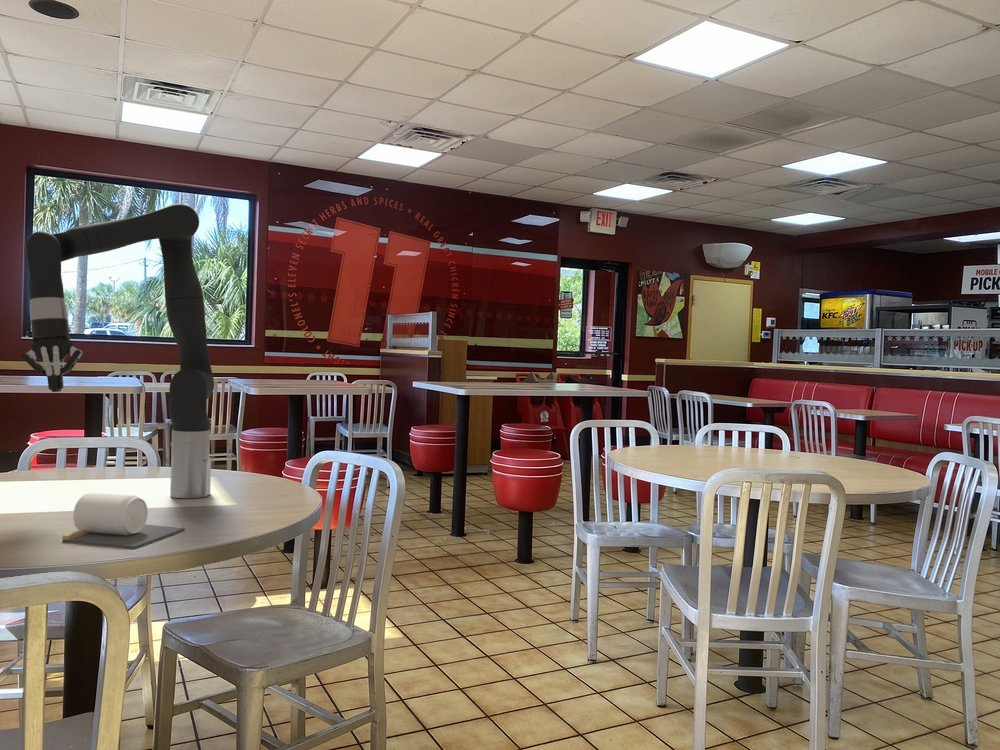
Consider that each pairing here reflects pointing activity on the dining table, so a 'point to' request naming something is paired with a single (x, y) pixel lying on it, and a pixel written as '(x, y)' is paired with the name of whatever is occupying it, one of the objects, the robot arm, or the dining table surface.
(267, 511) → the dining table surface
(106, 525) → the beverage can
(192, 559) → the dining table surface
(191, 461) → the robot arm
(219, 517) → the dining table surface
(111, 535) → the mat
